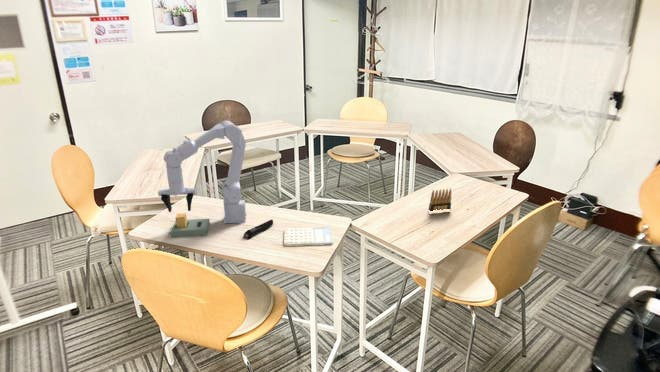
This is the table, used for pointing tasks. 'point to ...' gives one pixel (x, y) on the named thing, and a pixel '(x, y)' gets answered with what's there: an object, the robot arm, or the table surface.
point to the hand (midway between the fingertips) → (180, 210)
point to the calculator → (308, 236)
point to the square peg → (181, 221)
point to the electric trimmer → (257, 229)
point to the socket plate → (192, 228)
